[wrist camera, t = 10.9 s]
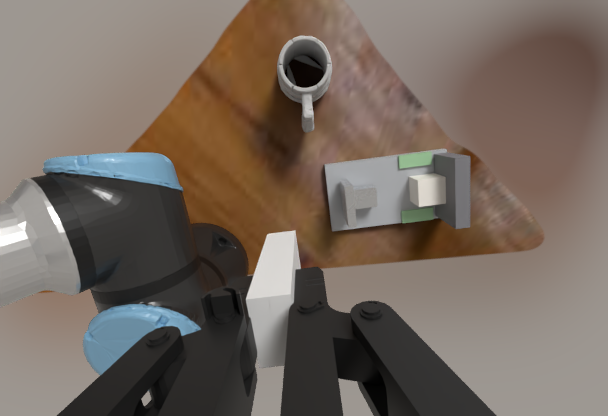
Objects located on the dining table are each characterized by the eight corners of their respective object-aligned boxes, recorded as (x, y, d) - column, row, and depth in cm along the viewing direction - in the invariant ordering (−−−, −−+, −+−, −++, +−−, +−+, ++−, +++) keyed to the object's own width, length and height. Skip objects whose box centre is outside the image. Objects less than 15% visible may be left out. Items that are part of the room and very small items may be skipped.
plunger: (343, 216, 50) (348, 227, 44) (339, 179, 49) (344, 186, 43) (375, 212, 50) (384, 223, 44) (372, 175, 48) (382, 182, 43)
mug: (328, 47, 46) (337, 19, 34) (332, 129, 49) (341, 130, 37) (276, 51, 46) (267, 24, 34) (283, 133, 49) (277, 135, 37)
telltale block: (410, 200, 50) (419, 206, 46) (408, 176, 49) (418, 180, 45) (434, 197, 50) (446, 203, 46) (434, 173, 49) (445, 177, 45)
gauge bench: (331, 229, 53) (336, 247, 45) (324, 164, 50) (328, 171, 42) (444, 214, 52) (470, 230, 44) (443, 148, 49) (470, 152, 41)
